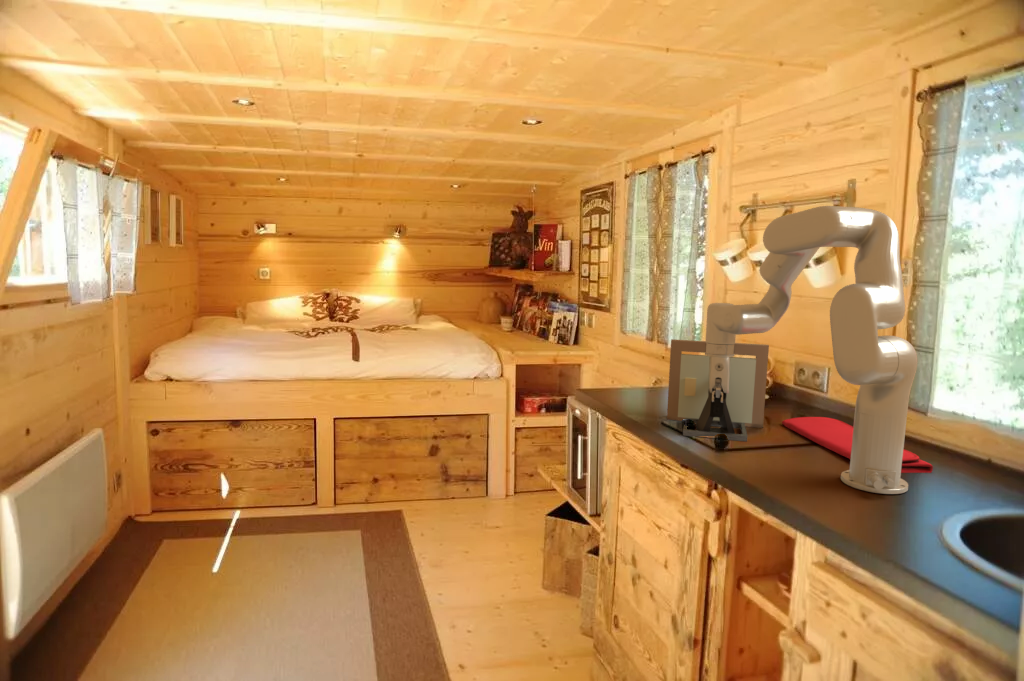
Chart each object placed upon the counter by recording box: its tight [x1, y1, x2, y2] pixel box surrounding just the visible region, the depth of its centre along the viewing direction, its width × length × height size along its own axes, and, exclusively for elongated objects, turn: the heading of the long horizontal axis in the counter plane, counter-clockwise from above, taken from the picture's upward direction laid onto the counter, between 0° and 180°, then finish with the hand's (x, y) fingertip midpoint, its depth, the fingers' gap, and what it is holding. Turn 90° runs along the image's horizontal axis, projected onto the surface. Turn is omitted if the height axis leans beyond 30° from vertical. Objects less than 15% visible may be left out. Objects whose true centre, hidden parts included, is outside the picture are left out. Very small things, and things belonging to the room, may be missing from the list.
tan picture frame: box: [666, 338, 770, 429], centre depth 191 cm, size 4×26×23 cm, turn 74°
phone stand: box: [695, 390, 736, 434], centre depth 181 cm, size 9×6×12 cm, turn 91°
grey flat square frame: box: [682, 418, 748, 442], centre depth 182 cm, size 14×16×2 cm
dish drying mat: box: [781, 416, 934, 474], centre depth 171 cm, size 16×41×4 cm, turn 5°
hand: (716, 412), depth 181 cm, fingers open, 9 cm apart
